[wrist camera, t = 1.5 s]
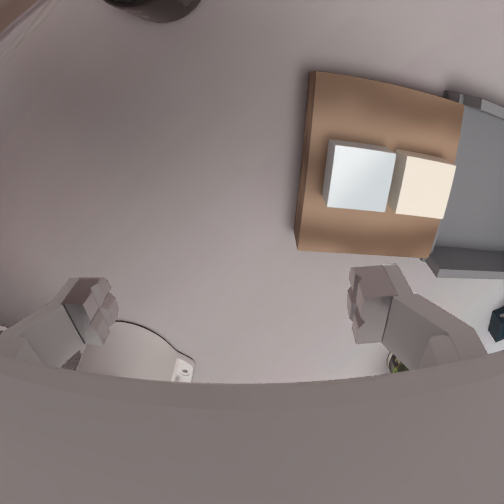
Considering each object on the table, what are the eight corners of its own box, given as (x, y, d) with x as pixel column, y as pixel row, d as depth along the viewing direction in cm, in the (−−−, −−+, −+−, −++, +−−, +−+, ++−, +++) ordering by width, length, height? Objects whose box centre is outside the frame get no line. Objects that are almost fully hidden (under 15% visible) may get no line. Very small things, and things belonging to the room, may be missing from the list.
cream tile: (431, 207, 27) (442, 219, 25) (385, 202, 27) (395, 213, 25) (442, 158, 24) (456, 166, 22) (395, 148, 24) (407, 155, 22)
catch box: (503, 254, 33) (526, 279, 28) (411, 247, 33) (432, 277, 28) (538, 129, 24) (569, 142, 19) (444, 90, 24) (478, 97, 19)
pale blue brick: (375, 201, 27) (384, 212, 25) (321, 195, 27) (327, 207, 25) (385, 146, 24) (396, 153, 22) (329, 138, 24) (335, 144, 22)
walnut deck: (414, 239, 33) (428, 258, 30) (293, 230, 33) (297, 250, 30) (443, 99, 25) (464, 104, 21) (309, 72, 25) (316, 70, 21)
